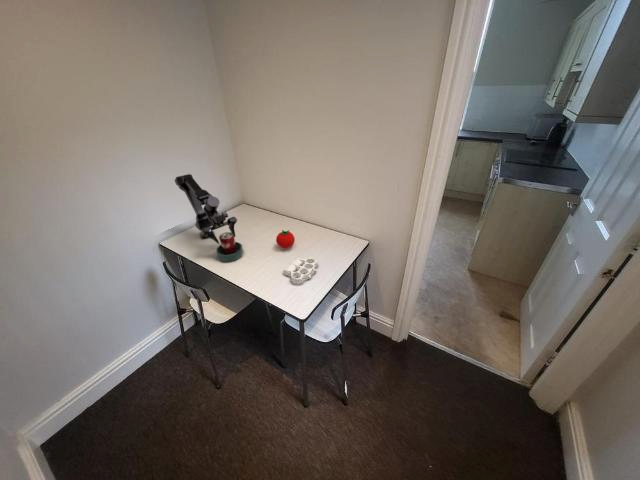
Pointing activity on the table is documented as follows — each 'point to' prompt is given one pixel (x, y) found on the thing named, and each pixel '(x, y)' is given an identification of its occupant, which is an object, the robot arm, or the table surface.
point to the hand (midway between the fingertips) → (227, 240)
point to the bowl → (232, 256)
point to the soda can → (228, 243)
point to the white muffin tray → (301, 269)
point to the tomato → (285, 239)
